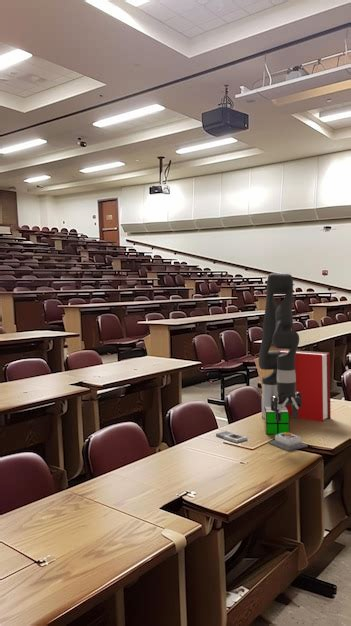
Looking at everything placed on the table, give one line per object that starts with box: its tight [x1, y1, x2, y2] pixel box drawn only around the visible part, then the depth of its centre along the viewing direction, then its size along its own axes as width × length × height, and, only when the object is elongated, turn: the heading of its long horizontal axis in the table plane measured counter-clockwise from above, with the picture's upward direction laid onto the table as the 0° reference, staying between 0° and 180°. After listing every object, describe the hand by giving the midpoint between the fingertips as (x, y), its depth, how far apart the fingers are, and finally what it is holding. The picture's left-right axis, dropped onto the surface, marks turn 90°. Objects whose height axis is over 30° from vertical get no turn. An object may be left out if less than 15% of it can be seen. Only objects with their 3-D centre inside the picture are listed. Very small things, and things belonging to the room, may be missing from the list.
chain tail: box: [215, 430, 248, 444], centre depth 207 cm, size 13×6×1 cm, turn 37°
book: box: [273, 349, 332, 423], centre depth 239 cm, size 27×8×32 cm, turn 48°
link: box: [274, 433, 302, 447], centre depth 196 cm, size 8×6×3 cm
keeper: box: [268, 431, 308, 452], centre depth 196 cm, size 12×10×5 cm
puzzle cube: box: [263, 407, 290, 436], centre depth 215 cm, size 10×10×10 cm
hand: (286, 419), depth 196 cm, fingers open, 8 cm apart
